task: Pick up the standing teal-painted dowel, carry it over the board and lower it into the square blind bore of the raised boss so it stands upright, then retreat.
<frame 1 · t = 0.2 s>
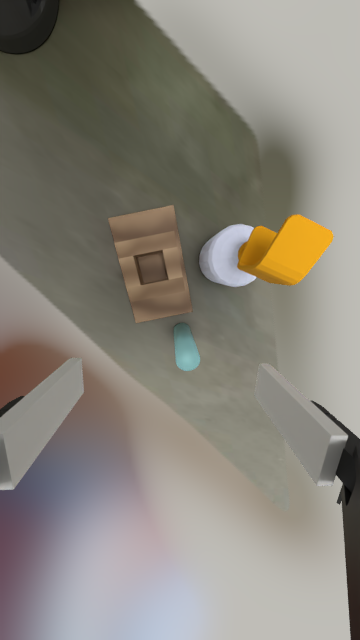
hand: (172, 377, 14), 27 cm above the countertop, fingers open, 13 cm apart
soap bottle: (220, 260, 39), on the countertop
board: (153, 268, 38), on the countertop
peg: (181, 330, 42), on the countertop
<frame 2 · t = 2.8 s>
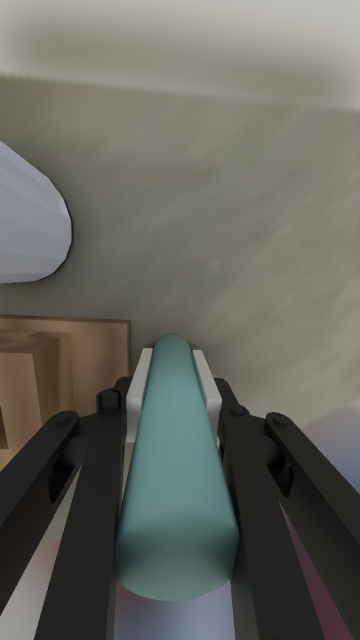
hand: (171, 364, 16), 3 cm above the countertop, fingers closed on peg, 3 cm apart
soap bottle: (18, 225, 16), on the countertop
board: (25, 375, 19), on the countertop
peg: (172, 351, 19), on the countertop, touching gripper
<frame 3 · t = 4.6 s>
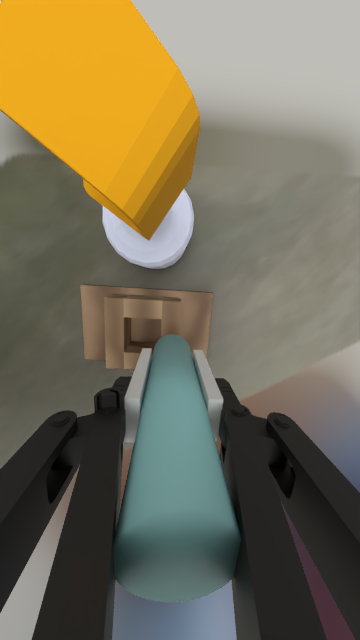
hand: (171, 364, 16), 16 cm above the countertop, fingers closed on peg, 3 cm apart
soap bottle: (157, 237, 29), on the countertop
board: (147, 325, 31), on the countertop
peg: (172, 352, 19), point 13 cm above the countertop, touching gripper
when the fingers open (6 cm above the countertop, at t = 6.7 s): peg drops 1 cm, resting on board.
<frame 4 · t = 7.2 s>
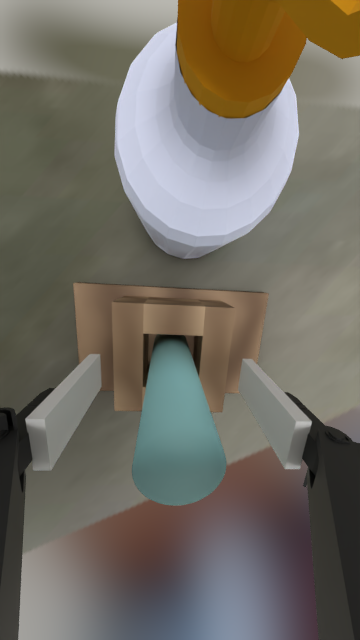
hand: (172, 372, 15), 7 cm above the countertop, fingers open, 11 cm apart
soap bottle: (187, 212, 19), on the countertop
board: (171, 339, 22), on the countertop
peg: (170, 343, 21), point 1 cm above the countertop, touching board
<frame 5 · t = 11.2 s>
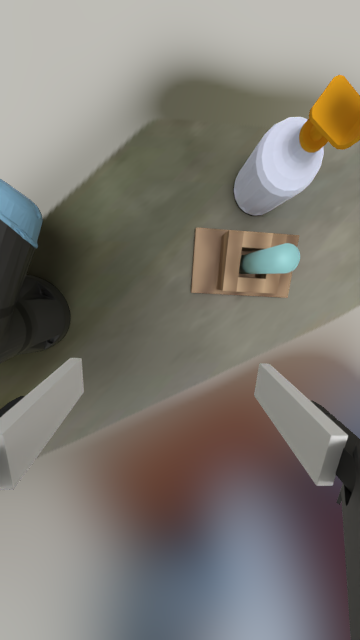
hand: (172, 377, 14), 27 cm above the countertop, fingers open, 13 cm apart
soap bottle: (256, 190, 36), on the countertop
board: (242, 264, 39), on the countertop
peg: (243, 264, 37), point 1 cm above the countertop, touching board
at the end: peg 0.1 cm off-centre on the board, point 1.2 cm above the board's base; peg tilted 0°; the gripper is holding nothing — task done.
